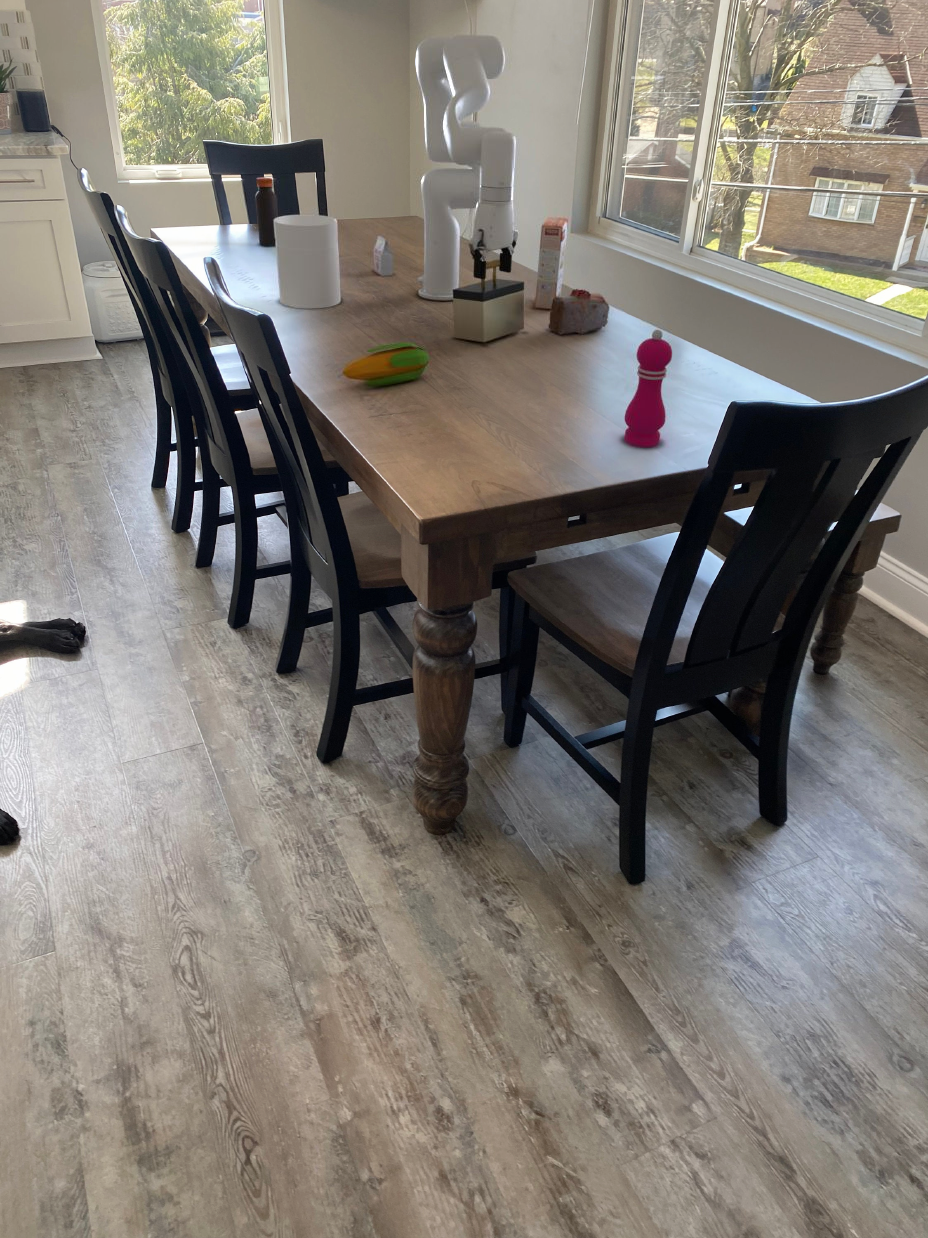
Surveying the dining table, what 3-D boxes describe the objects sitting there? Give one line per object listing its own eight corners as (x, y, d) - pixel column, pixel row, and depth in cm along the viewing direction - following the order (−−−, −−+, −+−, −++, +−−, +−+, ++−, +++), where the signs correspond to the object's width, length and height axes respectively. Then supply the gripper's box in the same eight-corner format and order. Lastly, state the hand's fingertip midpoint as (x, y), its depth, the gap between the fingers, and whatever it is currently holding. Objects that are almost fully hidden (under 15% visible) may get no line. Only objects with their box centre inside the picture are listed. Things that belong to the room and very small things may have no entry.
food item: (590, 323, 227) (595, 283, 222) (609, 331, 222) (614, 290, 216) (545, 328, 222) (549, 287, 216) (563, 337, 216) (566, 295, 211)
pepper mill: (632, 430, 166) (647, 321, 155) (668, 439, 163) (686, 329, 152) (614, 442, 161) (629, 330, 150) (651, 452, 158) (669, 338, 147)
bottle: (278, 246, 295) (272, 180, 284) (257, 246, 294) (251, 179, 284) (282, 242, 300) (276, 177, 289) (261, 242, 300) (256, 176, 289)
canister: (352, 301, 238) (350, 220, 227) (305, 311, 228) (300, 227, 217) (315, 290, 247) (310, 212, 236) (267, 299, 237) (260, 218, 226)
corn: (436, 341, 183) (351, 356, 173) (437, 378, 187) (353, 394, 177) (417, 335, 188) (333, 348, 178) (418, 371, 192) (336, 386, 182)
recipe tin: (451, 264, 204) (482, 267, 199) (493, 255, 215) (524, 257, 210) (454, 337, 212) (484, 342, 207) (495, 324, 223) (524, 328, 218)
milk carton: (385, 269, 271) (384, 234, 265) (392, 274, 266) (392, 239, 260) (373, 270, 270) (372, 235, 264) (381, 275, 265) (380, 239, 259)
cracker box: (556, 310, 237) (563, 226, 226) (533, 308, 238) (540, 224, 226) (562, 298, 249) (569, 217, 237) (540, 296, 249) (546, 215, 238)
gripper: (506, 188, 206) (501, 266, 215) (458, 196, 195) (456, 277, 204) (532, 192, 202) (527, 271, 212) (485, 200, 191) (482, 283, 200)
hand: (492, 274), depth 208 cm, fingers open, 9 cm apart
